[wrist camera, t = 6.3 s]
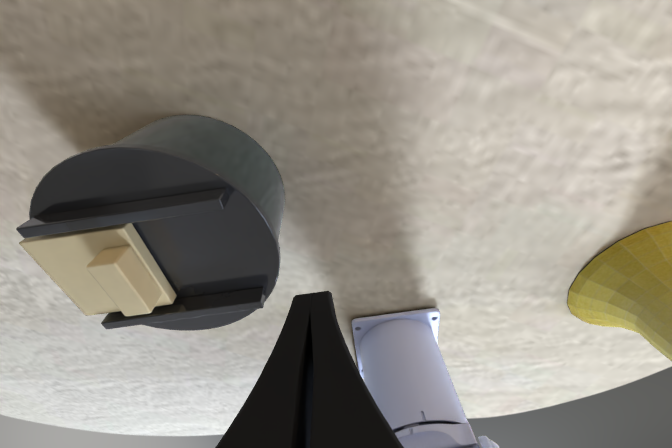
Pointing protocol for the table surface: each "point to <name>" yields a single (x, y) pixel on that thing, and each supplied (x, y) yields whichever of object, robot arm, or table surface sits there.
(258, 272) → the canister
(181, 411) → the table surface
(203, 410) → the table surface
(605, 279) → the handbell
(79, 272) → the slider
